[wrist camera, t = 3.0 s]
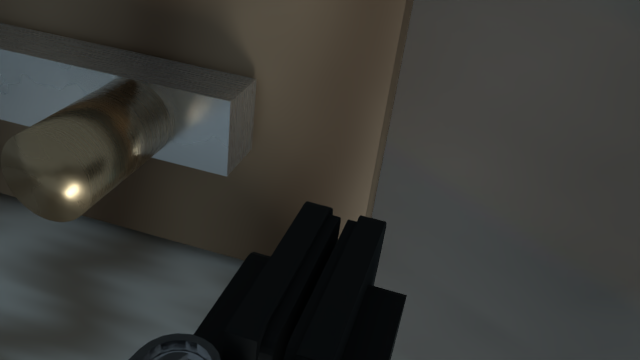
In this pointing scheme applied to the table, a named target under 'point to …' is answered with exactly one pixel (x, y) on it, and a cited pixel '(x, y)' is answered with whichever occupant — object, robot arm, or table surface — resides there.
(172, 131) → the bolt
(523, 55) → the table surface
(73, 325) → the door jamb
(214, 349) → the robot arm
